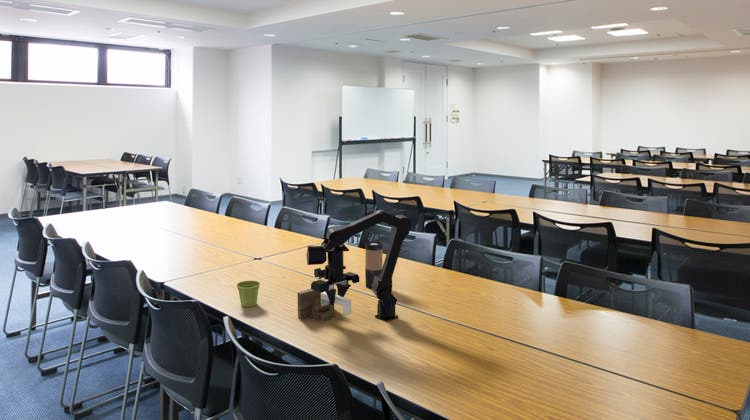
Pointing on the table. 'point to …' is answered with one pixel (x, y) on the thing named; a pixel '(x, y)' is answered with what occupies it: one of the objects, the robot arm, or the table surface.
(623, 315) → the table surface
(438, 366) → the table surface
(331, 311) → the brown wooden block
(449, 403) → the table surface
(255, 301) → the plant pot
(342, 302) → the bed rail
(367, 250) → the travel mug
